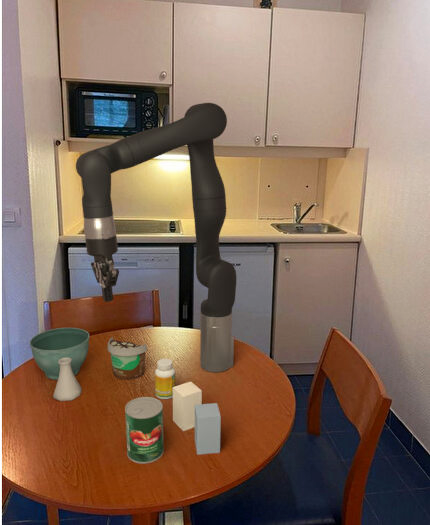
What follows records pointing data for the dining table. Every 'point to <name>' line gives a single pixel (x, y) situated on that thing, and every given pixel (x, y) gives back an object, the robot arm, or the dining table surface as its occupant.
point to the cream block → (185, 404)
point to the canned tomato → (144, 429)
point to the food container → (127, 359)
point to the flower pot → (60, 349)
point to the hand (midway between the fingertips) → (108, 300)
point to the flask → (66, 382)
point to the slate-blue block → (207, 428)
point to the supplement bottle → (164, 379)
